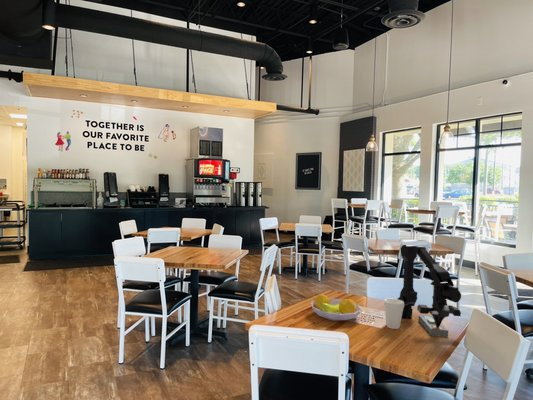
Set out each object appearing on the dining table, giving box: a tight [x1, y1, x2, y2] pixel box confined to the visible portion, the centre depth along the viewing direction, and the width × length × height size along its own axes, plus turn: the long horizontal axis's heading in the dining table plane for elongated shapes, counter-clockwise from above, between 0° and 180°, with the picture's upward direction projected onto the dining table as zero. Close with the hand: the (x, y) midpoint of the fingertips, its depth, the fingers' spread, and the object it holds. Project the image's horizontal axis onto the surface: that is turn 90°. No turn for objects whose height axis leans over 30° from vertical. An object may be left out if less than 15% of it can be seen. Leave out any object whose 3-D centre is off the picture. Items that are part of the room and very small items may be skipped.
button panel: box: [418, 314, 449, 337], centre depth 193 cm, size 8×20×3 cm, turn 174°
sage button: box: [428, 319, 435, 324], centre depth 193 cm, size 4×4×2 cm
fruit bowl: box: [311, 294, 362, 322], centre depth 203 cm, size 28×27×11 cm
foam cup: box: [383, 297, 404, 330], centre depth 193 cm, size 10×9×13 cm
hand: (437, 327), depth 186 cm, fingers closed, pressing on terracotta button
